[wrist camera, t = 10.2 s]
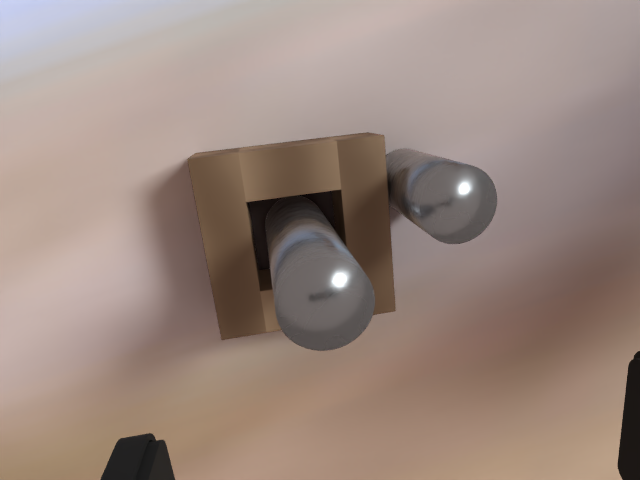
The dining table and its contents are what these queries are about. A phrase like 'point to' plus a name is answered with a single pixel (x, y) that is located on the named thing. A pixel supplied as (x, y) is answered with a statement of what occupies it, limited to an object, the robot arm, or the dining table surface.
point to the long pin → (315, 278)
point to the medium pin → (440, 195)
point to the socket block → (282, 181)
